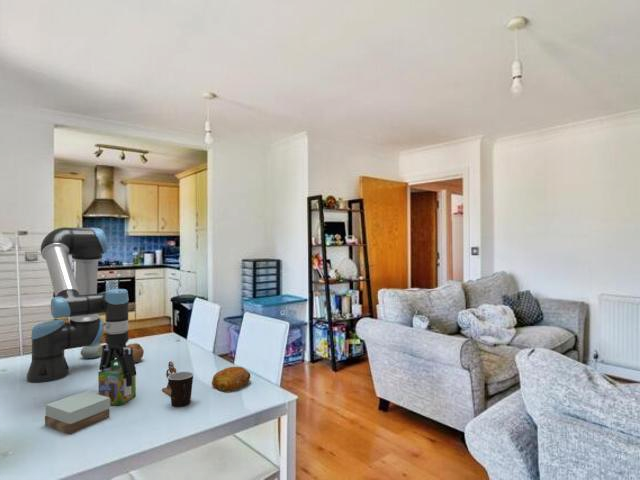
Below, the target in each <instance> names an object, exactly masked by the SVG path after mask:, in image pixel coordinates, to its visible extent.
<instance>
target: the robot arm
mask: <svg viewBox="0 0 640 480" xmlns="http://www.w3.org/2000/svg"><path fill="white" fill-rule="evenodd" d="M107 251H108V241H107V237H106V233H105V232H104V231H103V229H102V228H98V227H59V228H56V229H53V230H52V231H50V232H49V233H48V234H47V235H45V237H44V238H43V239H42V242H41V245H40V253H41V254H40V255H41V258H42V259H44V260H45V261H46V265H47V269H48V272H49V277H50V281H51V284H52V289H53V293H54V296H55V297H53V298H51V300H50V314H51V316H52V317H53V318H54V319H52V320H47V321H44V322H41V323H38V324H36V325H34V326H33V327H32V329H31V335H30V336H31V337H30V339H31V361H30V365H29V368H28V370H27V374H26V381H27V382H29V383H44V382H51V381H56V380H59V379H62V378H65V377H67V376H68V375H69V374H70V367H69V365H68V363H67V360H66V357H65V350H70V349H71V350H72V349H77V348H81V347H82V348H83V347H85V346H90V345H94V344H97V343H99V342H100V343H101V341H102V339H103V335H104V332H106V333H105V344H102V345H103V346H102V355H101V357H100V363H99V367H98V370H99V371H102V370H104V369H106V368H109V367H111V361H113V360H115V359H117V360H118V361H119V362H120V365H121V367H122V370H123V373H124V376H125V377H124V378H123V396H127V395H130V394H131V386H132V376H134V375H136V376H137V370H136V369H135V367H136V365H135V363H134V359H133V349H132V348H127V347H126V346H127V343H128V342H129V331H128V330H129V329H130V328H129V323H130V322H129V300H130V299H129V292H128V290H127V289H125V288H113V289H112V288H111V289H107V290H106V291H102V292H99V293H97V292H98V273H99V272H98V267H99V261H100V260H102V259H103V255H105V254H107ZM69 255H70V256H71V259H72V260H73V261H74V262H75V268H74V269H75V271H74V272H73V268H72V265H71V262H70V259H69ZM104 313H105V324H104V320H103V319H102V318H100V314H104ZM62 318H64V319H66V318H67V319H68V318H69V322H65V320H64V319H62ZM55 319H56V320H55ZM104 330H105V331H104ZM123 356H124V357H123ZM132 372H133V373H132ZM127 373H128V374H127Z"/></svg>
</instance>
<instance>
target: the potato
mask: <svg viewBox="0 0 640 480" xmlns="http://www.w3.org/2000/svg"><path fill="white" fill-rule="evenodd" d="M250 379H251V372H249V371H248V370H247V369H246V368H245V367H243V366H230V367H225V368H224V369H222V370H219V371H218V372H216V373H215V374H214V375H213V377H212V380H211V385H212V388H213V389H215V390H219V391H221V392H227V393H228V392H229V393H230V392H233V391H235V390H236V391H237V390H238V389H240V388H242V387H243V386H245V385H247V384H248V383H249V381H250Z"/></svg>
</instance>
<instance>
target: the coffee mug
mask: <svg viewBox="0 0 640 480" xmlns="http://www.w3.org/2000/svg"><path fill="white" fill-rule="evenodd" d="M170 374H171V373H170ZM167 381H168V382H169V389H170V396H169V397H170V403H171V407H173V408H183V407H186V406H187V407H188V406H189V405H190V403H191V398H192V391H193V381H194V373H193V372H192V371H191V372H190V371H176V373H174V372H173V373H172V374H171V375H169V376H168V378H167ZM168 382H167V383H168Z"/></svg>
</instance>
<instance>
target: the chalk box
mask: <svg viewBox="0 0 640 480" xmlns="http://www.w3.org/2000/svg"><path fill="white" fill-rule="evenodd" d="M115 363H117V364H115ZM136 368H137V367H136V366H135V369H136ZM132 373H133V372H132ZM97 374H98V377H97V378H98V381H97V382H98V384H97V385H98V395H102V396H106V397H109V398H110V406H112V405H113V406H114V405H115V406H122V405H123V404H124V403H127V402H128V401H130V400H131V399H133V398H135V397H136V396H137V395H136V389H137V388H136V387H137V386H136V381H137V378H136V376H137V374H136V375H134V376H132V386H131V394H130V395H127V396H123V378H124V377H125V376H124V373H123V370H122V367H121V365H120V362H119V361H118V360H117V358H115V360H113V361H111V367H109V368H106V369H104V370H99V371H97ZM127 374H128V373H127Z"/></svg>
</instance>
